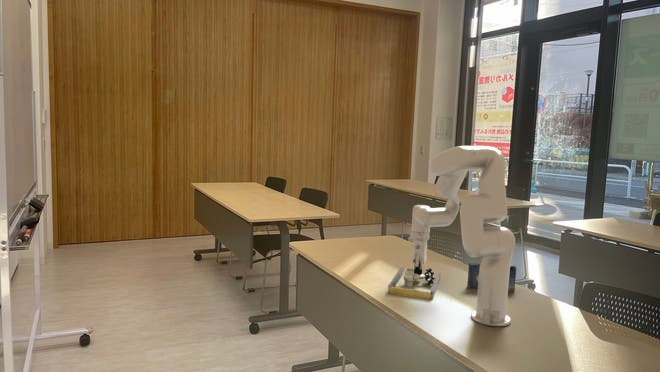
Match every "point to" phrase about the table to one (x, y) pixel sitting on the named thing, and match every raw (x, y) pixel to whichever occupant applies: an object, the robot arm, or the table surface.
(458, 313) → the table surface
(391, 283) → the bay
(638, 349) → the table surface
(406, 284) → the valve
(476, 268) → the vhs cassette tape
